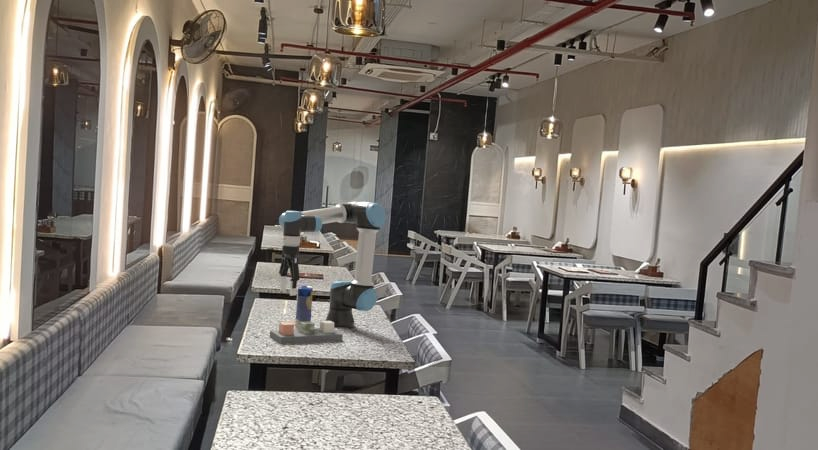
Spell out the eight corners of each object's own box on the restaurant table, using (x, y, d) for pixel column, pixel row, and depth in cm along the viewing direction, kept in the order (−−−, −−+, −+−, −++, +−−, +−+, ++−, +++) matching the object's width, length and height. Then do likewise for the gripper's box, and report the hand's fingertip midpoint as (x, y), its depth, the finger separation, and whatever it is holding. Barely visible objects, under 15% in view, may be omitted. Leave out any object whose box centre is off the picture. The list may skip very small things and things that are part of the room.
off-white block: (329, 331, 337) (330, 320, 337) (333, 333, 333) (334, 322, 333) (319, 331, 335) (320, 321, 335) (323, 333, 331) (324, 323, 330)
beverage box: (308, 330, 352) (311, 286, 351) (309, 335, 341) (312, 289, 340) (294, 329, 351) (297, 285, 350) (295, 334, 340) (298, 288, 339)
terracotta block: (289, 333, 327) (289, 322, 327) (293, 335, 323) (293, 324, 323) (278, 333, 325) (279, 322, 324) (282, 335, 320) (283, 324, 320)
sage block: (309, 332, 332) (310, 321, 332) (313, 334, 328) (314, 323, 328) (299, 332, 330) (300, 321, 329) (303, 334, 325) (304, 324, 325)
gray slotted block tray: (329, 336, 343) (330, 327, 342) (342, 342, 331) (342, 334, 330) (269, 339, 327) (270, 330, 327) (280, 346, 315) (281, 337, 315)
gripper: (273, 242, 330) (270, 288, 331) (292, 248, 309) (289, 297, 310) (289, 242, 334) (286, 288, 335) (309, 248, 313) (305, 297, 314)
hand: (287, 292), depth 323 cm, fingers open, 12 cm apart
